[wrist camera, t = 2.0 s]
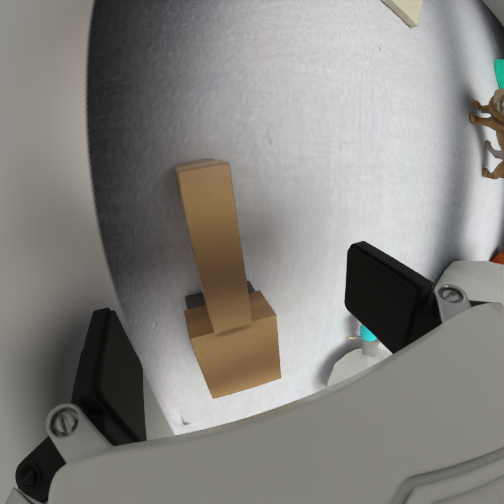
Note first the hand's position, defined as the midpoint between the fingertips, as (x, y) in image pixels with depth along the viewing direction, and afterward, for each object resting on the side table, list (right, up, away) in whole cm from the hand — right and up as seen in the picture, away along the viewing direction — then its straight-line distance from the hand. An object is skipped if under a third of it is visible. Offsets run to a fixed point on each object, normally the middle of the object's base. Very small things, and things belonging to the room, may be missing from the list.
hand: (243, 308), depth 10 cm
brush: (-2, +1, +8) cm, 8 cm away
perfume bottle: (+11, -8, +17) cm, 21 cm away
